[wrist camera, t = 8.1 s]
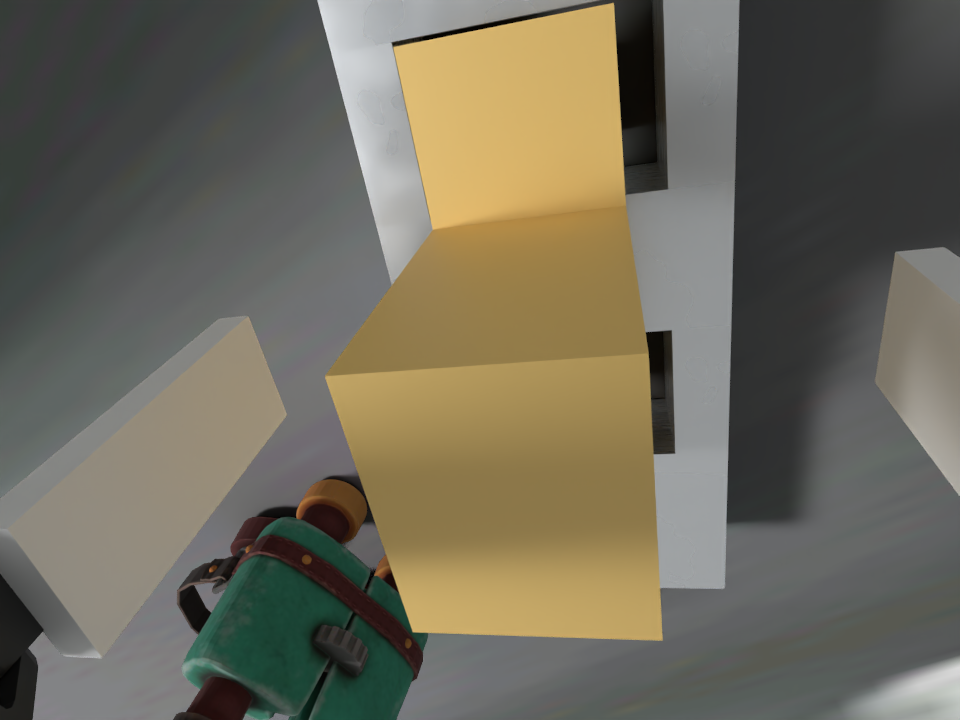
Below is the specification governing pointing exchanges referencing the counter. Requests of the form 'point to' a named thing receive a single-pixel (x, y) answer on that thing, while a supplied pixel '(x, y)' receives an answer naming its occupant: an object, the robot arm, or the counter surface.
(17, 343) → the counter surface
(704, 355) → the grey board with holes
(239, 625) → the binoculars
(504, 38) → the yellow stepped block
